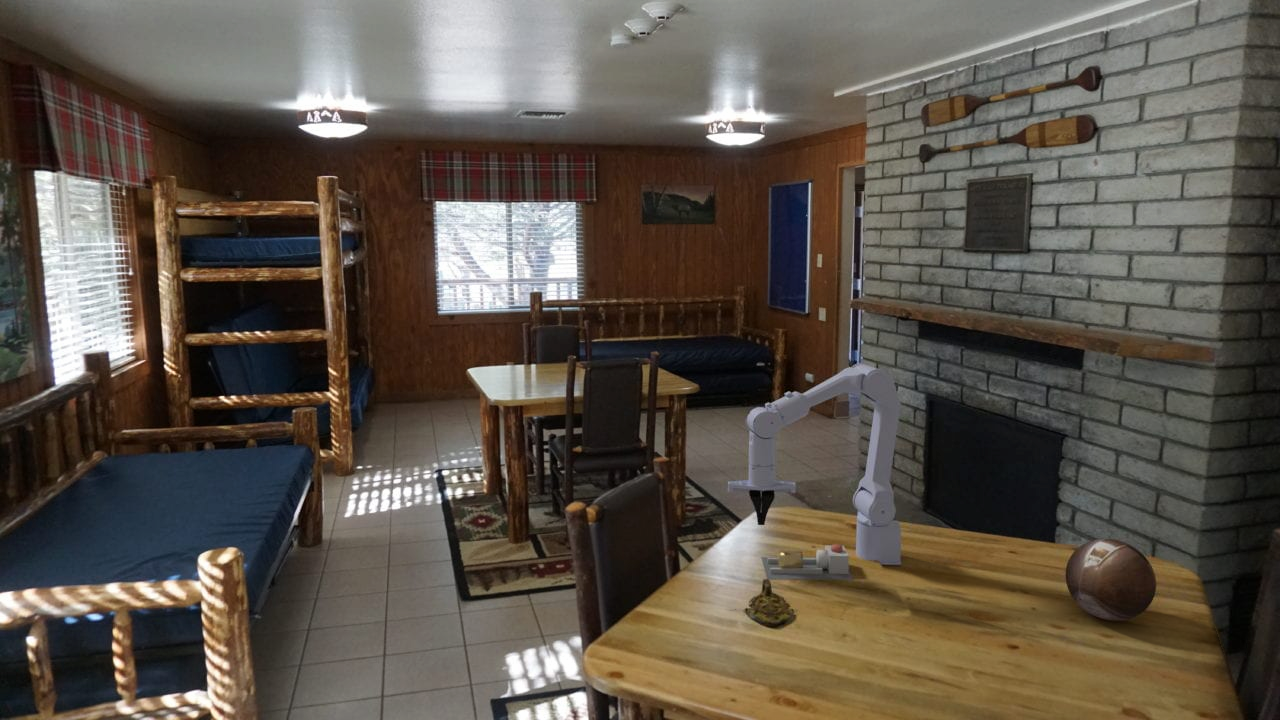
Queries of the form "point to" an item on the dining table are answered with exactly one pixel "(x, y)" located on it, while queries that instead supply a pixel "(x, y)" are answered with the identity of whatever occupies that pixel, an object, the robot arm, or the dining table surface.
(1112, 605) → the wooden sphere
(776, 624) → the seal
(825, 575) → the valve board
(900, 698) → the dining table surface
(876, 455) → the robot arm
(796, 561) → the brass fitting
